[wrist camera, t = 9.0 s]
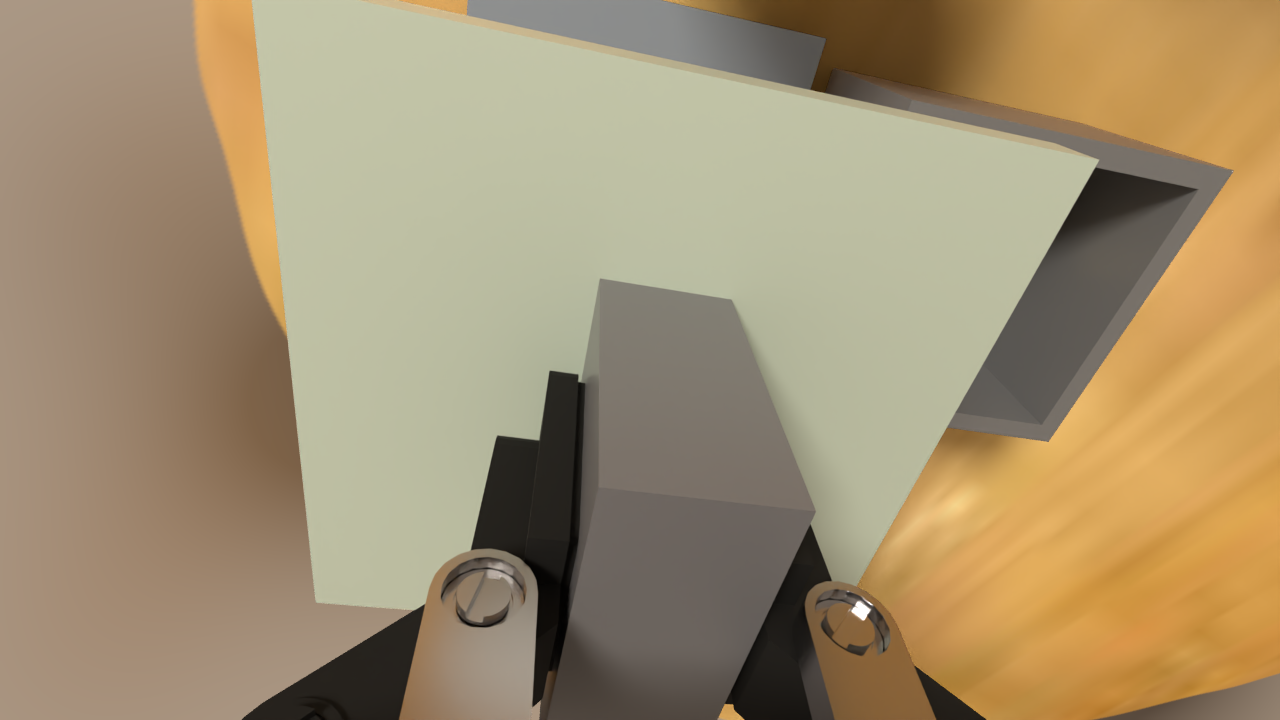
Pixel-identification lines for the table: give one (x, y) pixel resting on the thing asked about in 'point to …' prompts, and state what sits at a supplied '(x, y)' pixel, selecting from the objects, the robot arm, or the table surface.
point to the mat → (669, 34)
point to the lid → (624, 317)
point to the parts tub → (1068, 256)
